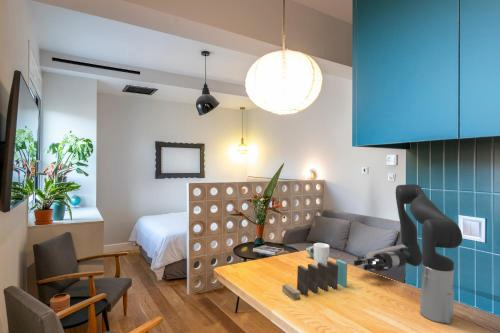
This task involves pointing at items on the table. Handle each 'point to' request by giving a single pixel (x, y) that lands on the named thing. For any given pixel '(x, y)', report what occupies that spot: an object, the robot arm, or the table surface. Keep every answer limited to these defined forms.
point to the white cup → (321, 253)
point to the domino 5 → (342, 273)
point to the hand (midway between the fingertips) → (359, 265)
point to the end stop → (291, 291)
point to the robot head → (310, 251)
